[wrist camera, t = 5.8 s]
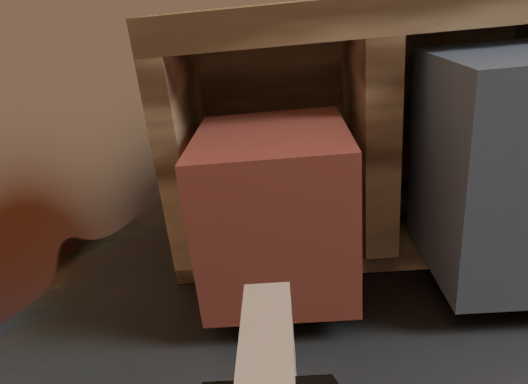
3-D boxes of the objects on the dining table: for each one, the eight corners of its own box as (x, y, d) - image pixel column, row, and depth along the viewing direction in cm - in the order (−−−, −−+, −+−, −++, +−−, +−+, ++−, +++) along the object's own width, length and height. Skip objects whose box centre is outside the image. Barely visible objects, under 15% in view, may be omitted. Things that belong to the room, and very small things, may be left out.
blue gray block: (625, 305, 22) (694, 51, 17) (455, 314, 22) (478, 70, 18) (529, 220, 30) (558, 34, 25) (406, 228, 30) (413, 47, 26)
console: (597, 258, 27) (665, -33, 21) (177, 284, 29) (125, 18, 23) (505, 184, 39) (532, -22, 32) (204, 205, 40) (175, 12, 34)
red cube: (362, 319, 22) (361, 152, 19) (202, 328, 23) (174, 166, 19) (339, 233, 31) (335, 106, 27) (222, 240, 31) (205, 116, 28)
